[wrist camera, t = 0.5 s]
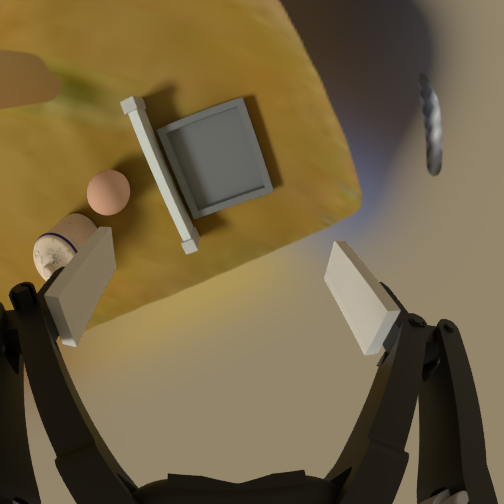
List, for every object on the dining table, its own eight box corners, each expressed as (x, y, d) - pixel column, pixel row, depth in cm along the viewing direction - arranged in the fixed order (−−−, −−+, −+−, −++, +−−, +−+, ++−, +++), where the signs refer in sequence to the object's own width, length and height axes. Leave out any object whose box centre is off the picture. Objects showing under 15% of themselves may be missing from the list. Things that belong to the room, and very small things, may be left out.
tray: (159, 129, 33) (156, 129, 32) (241, 98, 33) (242, 97, 31) (195, 215, 40) (194, 219, 39) (271, 188, 39) (273, 191, 38)
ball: (91, 176, 35) (72, 188, 29) (125, 158, 35) (108, 167, 29) (108, 212, 38) (92, 229, 33) (142, 196, 38) (129, 211, 32)
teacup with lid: (52, 216, 37) (15, 248, 27) (93, 206, 37) (58, 238, 27) (74, 276, 43) (47, 316, 32) (114, 271, 43) (91, 314, 33)
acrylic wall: (131, 103, 31) (119, 102, 27) (142, 97, 31) (132, 95, 27) (189, 240, 42) (186, 254, 38) (200, 236, 42) (197, 250, 38)
